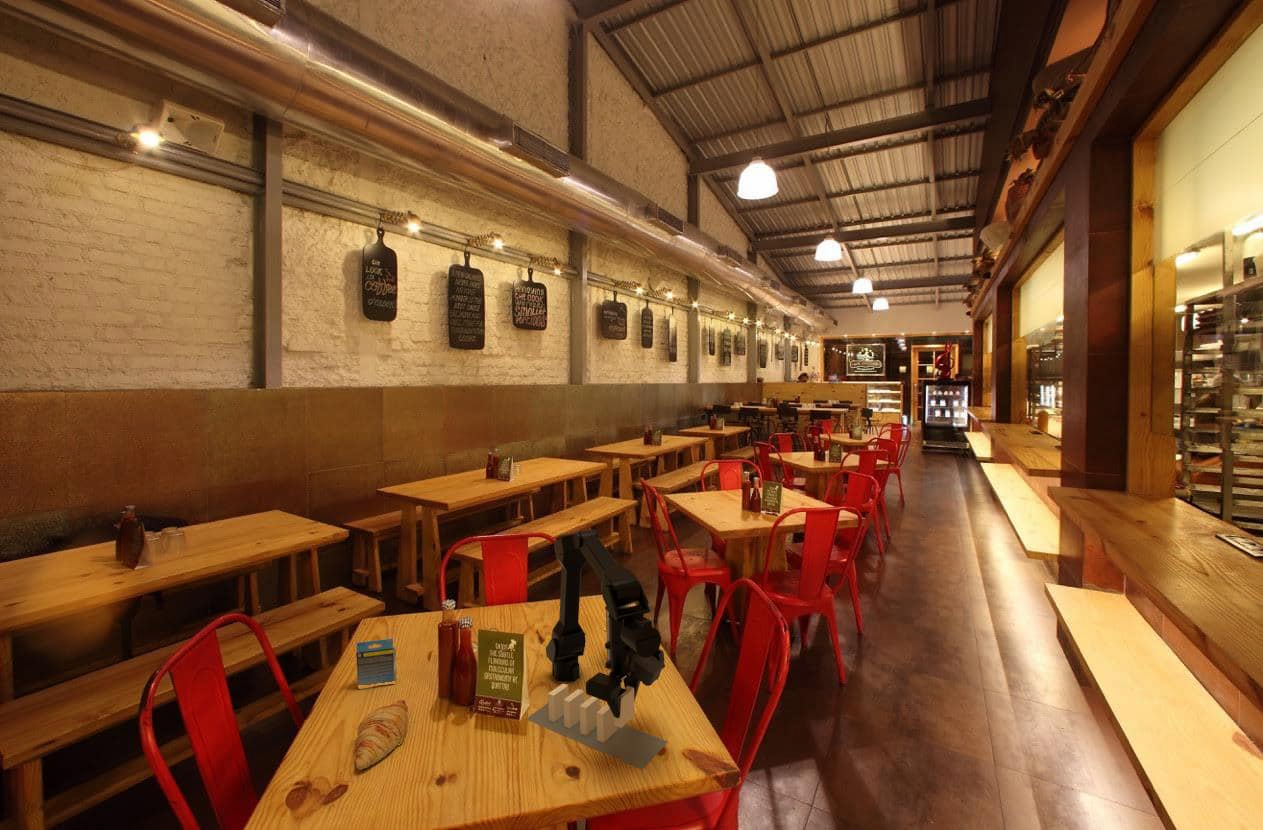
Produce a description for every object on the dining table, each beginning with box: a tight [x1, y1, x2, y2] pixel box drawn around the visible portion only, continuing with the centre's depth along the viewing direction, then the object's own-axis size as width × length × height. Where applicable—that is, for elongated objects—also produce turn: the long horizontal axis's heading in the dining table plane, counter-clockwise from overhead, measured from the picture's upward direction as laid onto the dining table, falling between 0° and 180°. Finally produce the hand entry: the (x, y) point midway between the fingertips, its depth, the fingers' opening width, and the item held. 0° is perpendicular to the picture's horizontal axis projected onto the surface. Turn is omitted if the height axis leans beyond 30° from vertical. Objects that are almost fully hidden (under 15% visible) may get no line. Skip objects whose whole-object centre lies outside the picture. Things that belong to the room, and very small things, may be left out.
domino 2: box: [564, 688, 585, 729], centre depth 121 cm, size 2×5×6 cm, turn 146°
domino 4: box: [597, 703, 617, 743], centre depth 116 cm, size 2×5×6 cm, turn 146°
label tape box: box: [355, 637, 398, 686], centre depth 140 cm, size 9×4×12 cm, turn 105°
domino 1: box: [547, 683, 570, 722], centre depth 123 cm, size 2×5×6 cm, turn 147°
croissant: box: [355, 699, 409, 771], centre depth 117 cm, size 21×10×8 cm, turn 3°
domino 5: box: [614, 686, 635, 728], centre depth 113 cm, size 2×5×6 cm, turn 147°
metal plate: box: [525, 702, 669, 770], centre depth 118 cm, size 31×10×1 cm, turn 57°
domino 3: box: [580, 696, 601, 736], centre depth 118 cm, size 2×5×6 cm, turn 146°
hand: (624, 711), depth 113 cm, fingers closed on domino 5, 5 cm apart
